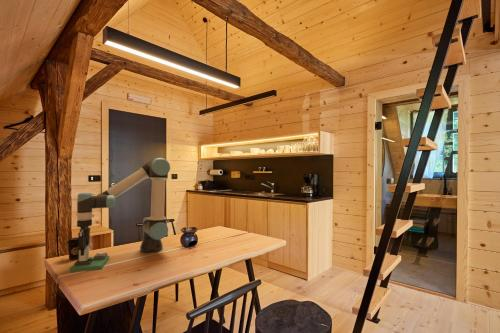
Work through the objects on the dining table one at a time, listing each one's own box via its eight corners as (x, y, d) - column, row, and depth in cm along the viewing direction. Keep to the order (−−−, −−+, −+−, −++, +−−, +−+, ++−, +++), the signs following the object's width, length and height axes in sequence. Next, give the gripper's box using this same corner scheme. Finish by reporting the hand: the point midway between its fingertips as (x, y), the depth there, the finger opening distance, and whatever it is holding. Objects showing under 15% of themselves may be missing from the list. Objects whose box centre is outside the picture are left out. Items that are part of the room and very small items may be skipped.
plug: (89, 258, 158) (89, 244, 159) (87, 260, 155) (87, 246, 155) (81, 259, 157) (81, 245, 157) (78, 261, 153) (79, 246, 153)
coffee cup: (86, 257, 172) (86, 237, 172) (74, 261, 164) (74, 240, 164) (75, 256, 175) (75, 236, 175) (63, 260, 167) (63, 239, 167)
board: (109, 259, 169) (109, 251, 169) (101, 269, 152) (101, 260, 152) (80, 261, 165) (80, 253, 165) (69, 271, 148) (69, 262, 148)
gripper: (82, 217, 163) (81, 255, 163) (71, 222, 147) (71, 265, 147) (95, 216, 165) (95, 254, 165) (87, 221, 149) (86, 263, 149)
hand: (84, 259), depth 156 cm, fingers closed on plug, 4 cm apart
